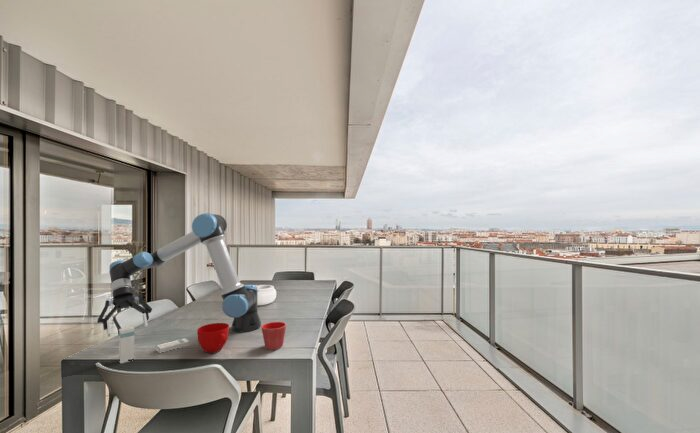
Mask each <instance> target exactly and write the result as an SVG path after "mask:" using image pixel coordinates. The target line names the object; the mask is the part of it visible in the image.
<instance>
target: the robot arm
mask: <svg viewBox="0 0 700 433" xmlns="http://www.w3.org/2000/svg"><path fill="white" fill-rule="evenodd" d="M227 227H228V223H227V221H226V218H225V217H223V216H222V215H220V214H214V213H208V212H207V213H201V214H199V215H197V216H196V217H195V218H194V219H193V221H192V224H191V229H192V231H190V232H189V233H187V234H185V235H183V236H181V237H179V238H177V239H176V240H174V241H171V242H169V243H168V244H166V245H164V246H162V247H159V249H157V250H155V251H153V252H152V253H149V252H148V251H141V252H139V253H137V254H135V255H133V256H132V257H130V258H129V259H127V260H123V259H119V260H116V261H113V262H112V263H111V264H109V277H110V282H111V290H112V291H111V292H112V299H113V300H108V299H107V300H105V303H104V307H103V309H102V311H101V312H100V314H99V316H98V318H97V324H100V323H102V327H103V328H102V329H103V330H106V333H107V334H106V335H107V338H109V337H111V333H112V332H111V325H110V320H109V319H110V318H111V317H112V316H113V315H114V314H115V313H116V312H117V311H118V309H119V310H123V309H127V308H128V309H129V308H131V309H135V310H136V311H137V312H139V313H141V314H142V320H143V326H144V329H147V328H148V327H149V325H148V321H149V318H150V316H149V314H150V313H152V311H153V308H152V307H151V305H149V304H148V302H146V301H145V300H144V299H143V296H142V295H141V294H139V295H138V296H134V292H133V288H132V287H133V286H132V282H131V276H133V275H134V274H136V273H138V272H140V271H143V270H147V269H151V268H158V267H160V266H163V265H164V264H165V263H166V262H167V261H170V260H171V259H173V258H175V257H176V256H178V255H181V254H183V253H184V252H186V251H189V250H190V249H191V248H194V247H195V246H197V245H199V244H201V245H204V246H206V249H207V252H208V255H209V257H210V260H211V262H212V266H213V267H214V270H215V273H216V276H217V278H218V281H219V284H220V286H221V289H222V290H221V294H220V295H221V298H222V304H221V308H222V312H223V313H224V314H225V316H227V317H230V318H233V320H232V323H231V330H232V331H233V332H236V333H245V332H252V331H255V330H258V329H260V328H262V323H261V322H262V321H261V319H260V318H261V317H260V315H259V312H258V291H259V290H258V286H257V285H256V284H244V283H241V281H240V279H239V276H238V273H237V272H236V269H235V266H234V263H233V261H232V258H231V255H230V253H229V250H228V248H227V245H226V242H225V240H224V239H225V237H226V234H225V232H226V230H227ZM137 302H138V303H139V304H138V303H137ZM111 305H113V306H114V307H113V308H112V309H111V310H110V311H109V313H107V311H108V309H109V307H111ZM106 313H107V315H105V314H106Z"/></svg>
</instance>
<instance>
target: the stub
mask: <svg viewBox="0 0 700 433" xmlns="http://www.w3.org/2000/svg"><path fill="white" fill-rule="evenodd" d="M118 329H119V330H118V336H119V337H118V360H119V359H120V361H119V363H120V364H125V363H129V361H128V359H131V358H134V359H135V334H136V331H135V327H134V326H133V325H131V326H126V327H121V328H118Z"/></svg>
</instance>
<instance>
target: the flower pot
mask: <svg viewBox="0 0 700 433" xmlns="http://www.w3.org/2000/svg"><path fill="white" fill-rule="evenodd" d="M286 330H287V323H285V322H283V321H271V322H267V323H264V324H261V334H262V337H263V342H264V346H265V349H266V350H270V351H271V350H272V351H273V350H280V349H281V348H283V347H284V341H285V336H286Z"/></svg>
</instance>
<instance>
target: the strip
mask: <svg viewBox="0 0 700 433" xmlns="http://www.w3.org/2000/svg"><path fill="white" fill-rule="evenodd" d="M186 346H187V347H190V341H189V340H188V339H187V338H181V339H176V340H173V341H169V342H165V343H161V344H157V345H155V350H156V349H157V350H158V352H159V353H160V352H163V351H168V350H172V349H175V350H178V349H177V348H179V349H183V348H186ZM182 347H183V348H182ZM172 351H173V350H172ZM158 352H157V353H158ZM168 352H169V351H168ZM159 353H158V354H159Z"/></svg>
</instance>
